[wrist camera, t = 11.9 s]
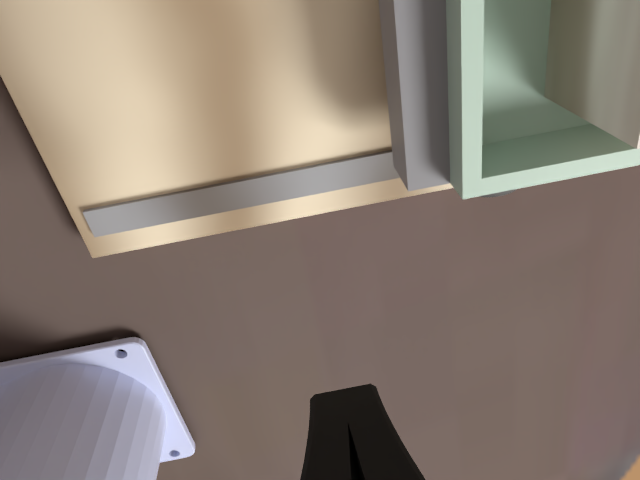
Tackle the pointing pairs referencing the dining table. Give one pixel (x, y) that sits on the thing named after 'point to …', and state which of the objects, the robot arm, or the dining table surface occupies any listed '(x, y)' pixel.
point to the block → (597, 63)
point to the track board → (201, 112)
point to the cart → (482, 100)
